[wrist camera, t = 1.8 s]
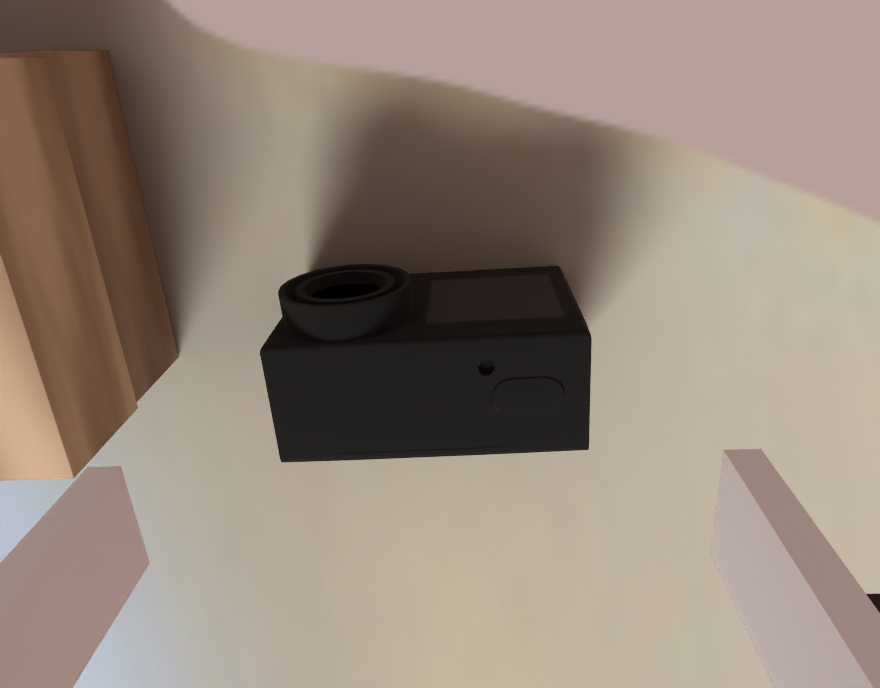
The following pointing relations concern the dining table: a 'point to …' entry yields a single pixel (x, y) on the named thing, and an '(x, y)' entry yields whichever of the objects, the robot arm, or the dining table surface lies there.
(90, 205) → the tower base
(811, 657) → the robot arm
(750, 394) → the dining table surface
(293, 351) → the digital camera
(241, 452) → the dining table surface
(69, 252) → the tower top
